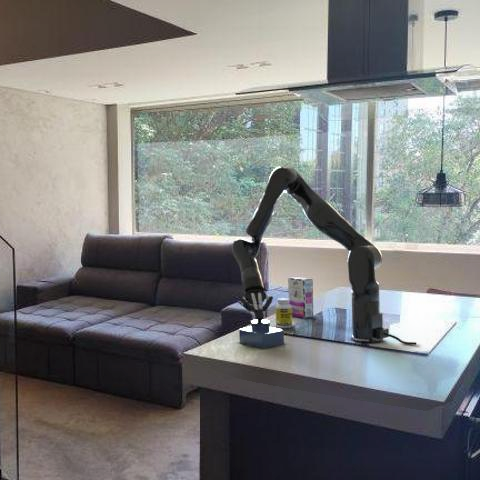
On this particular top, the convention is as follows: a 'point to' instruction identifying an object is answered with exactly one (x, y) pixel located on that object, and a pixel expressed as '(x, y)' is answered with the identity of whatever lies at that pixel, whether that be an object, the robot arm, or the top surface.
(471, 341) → the top surface
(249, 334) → the blue square base
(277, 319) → the pill bottle
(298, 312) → the candy bar box
